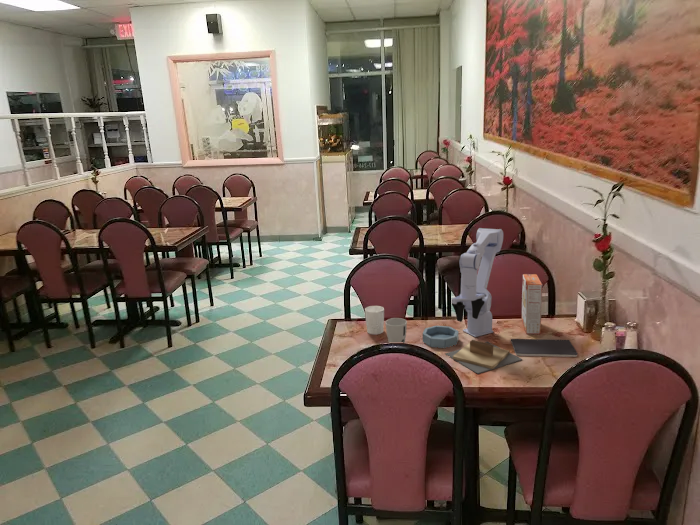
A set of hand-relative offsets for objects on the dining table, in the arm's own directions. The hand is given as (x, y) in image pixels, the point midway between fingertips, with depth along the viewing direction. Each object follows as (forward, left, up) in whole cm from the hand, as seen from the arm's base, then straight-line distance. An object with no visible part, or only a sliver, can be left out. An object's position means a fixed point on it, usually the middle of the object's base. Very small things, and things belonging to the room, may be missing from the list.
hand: (467, 319), depth 192 cm
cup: (+24, -12, -10) cm, 29 cm away
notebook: (-20, +19, -10) cm, 29 cm away
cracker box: (-31, +2, -10) cm, 32 cm away
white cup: (+24, -29, -10) cm, 39 cm away
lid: (+4, +12, -9) cm, 16 cm away
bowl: (+7, -7, -10) cm, 14 cm away
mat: (+3, +13, -10) cm, 16 cm away
